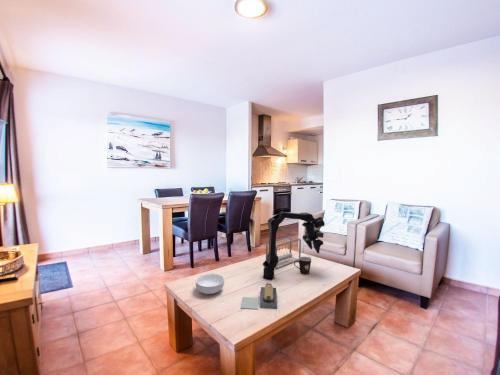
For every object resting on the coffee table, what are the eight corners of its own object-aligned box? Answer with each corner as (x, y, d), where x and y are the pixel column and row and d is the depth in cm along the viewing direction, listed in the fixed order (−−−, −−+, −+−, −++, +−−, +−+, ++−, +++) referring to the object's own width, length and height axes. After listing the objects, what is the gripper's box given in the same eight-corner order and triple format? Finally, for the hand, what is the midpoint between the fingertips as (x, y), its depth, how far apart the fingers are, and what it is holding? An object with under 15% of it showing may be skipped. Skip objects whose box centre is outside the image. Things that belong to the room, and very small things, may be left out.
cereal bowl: (193, 286, 152) (193, 275, 151) (220, 282, 158) (220, 271, 157) (198, 300, 136) (198, 288, 136) (227, 295, 142) (227, 283, 142)
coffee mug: (310, 270, 179) (311, 257, 178) (310, 275, 170) (311, 261, 169) (294, 269, 181) (294, 255, 181) (293, 273, 173) (294, 259, 172)
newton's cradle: (290, 256, 207) (290, 235, 206) (300, 260, 200) (301, 238, 198) (265, 265, 187) (265, 242, 186) (275, 269, 179) (276, 245, 178)
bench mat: (242, 297, 140) (242, 296, 140) (258, 298, 140) (258, 297, 140) (240, 308, 129) (240, 307, 129) (257, 309, 129) (257, 308, 129)
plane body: (260, 291, 148) (261, 282, 147) (276, 291, 147) (276, 282, 147) (259, 307, 131) (260, 297, 130) (277, 308, 130) (277, 298, 129)
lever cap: (264, 302, 135) (264, 286, 134) (272, 303, 135) (273, 286, 134) (264, 305, 132) (264, 288, 131) (272, 306, 132) (273, 289, 131)
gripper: (328, 230, 165) (332, 251, 168) (313, 223, 183) (317, 243, 186) (313, 235, 163) (318, 257, 165) (300, 228, 181) (304, 248, 183)
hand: (314, 251), depth 175 cm, fingers open, 9 cm apart
